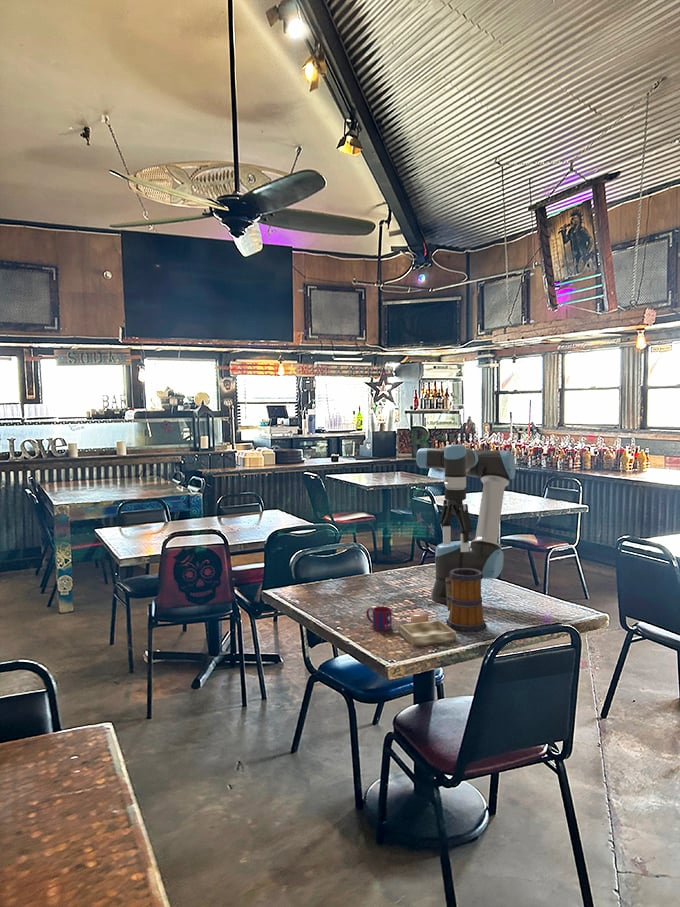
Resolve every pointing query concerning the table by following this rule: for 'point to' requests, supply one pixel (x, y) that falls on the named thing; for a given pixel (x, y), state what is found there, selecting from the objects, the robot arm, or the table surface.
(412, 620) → the tan rounded block
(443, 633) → the wooden tray
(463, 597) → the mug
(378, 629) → the cup
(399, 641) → the table surface
